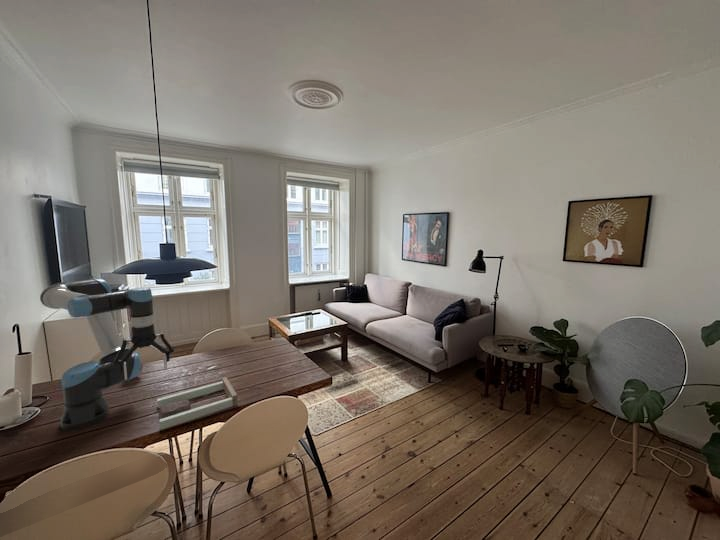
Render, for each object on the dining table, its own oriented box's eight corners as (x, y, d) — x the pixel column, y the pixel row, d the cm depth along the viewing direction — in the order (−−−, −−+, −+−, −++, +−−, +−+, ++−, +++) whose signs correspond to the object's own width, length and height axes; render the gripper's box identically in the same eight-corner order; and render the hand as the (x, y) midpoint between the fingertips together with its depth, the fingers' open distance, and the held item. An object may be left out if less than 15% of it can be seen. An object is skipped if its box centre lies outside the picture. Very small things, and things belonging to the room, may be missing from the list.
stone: (188, 404, 136) (188, 394, 136) (192, 413, 130) (192, 403, 129) (158, 413, 128) (157, 404, 128) (161, 424, 122) (160, 414, 121)
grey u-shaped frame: (160, 429, 118) (159, 418, 117) (157, 406, 134) (156, 396, 133) (237, 404, 136) (236, 394, 136) (226, 386, 152) (226, 377, 151)
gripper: (102, 333, 109) (107, 386, 111) (179, 321, 125) (182, 368, 127) (102, 328, 114) (107, 378, 117) (176, 317, 130) (179, 362, 133)
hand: (146, 373), depth 122 cm, fingers open, 13 cm apart
